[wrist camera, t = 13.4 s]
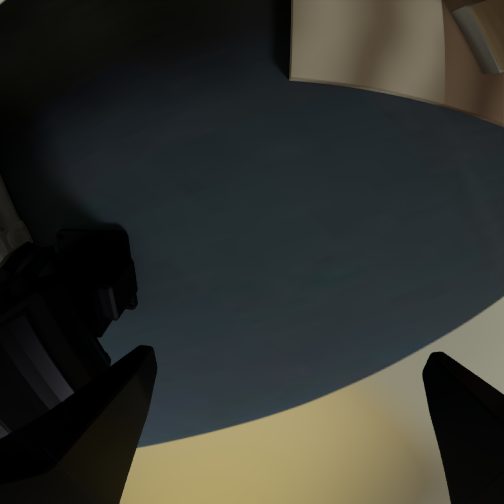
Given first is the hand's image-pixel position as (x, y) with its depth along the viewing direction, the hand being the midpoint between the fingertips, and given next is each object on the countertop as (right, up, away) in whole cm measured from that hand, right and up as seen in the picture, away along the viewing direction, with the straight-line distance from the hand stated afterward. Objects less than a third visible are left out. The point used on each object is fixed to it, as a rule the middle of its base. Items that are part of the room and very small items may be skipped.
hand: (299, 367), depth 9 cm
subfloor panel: (+12, +19, +5) cm, 23 cm away
